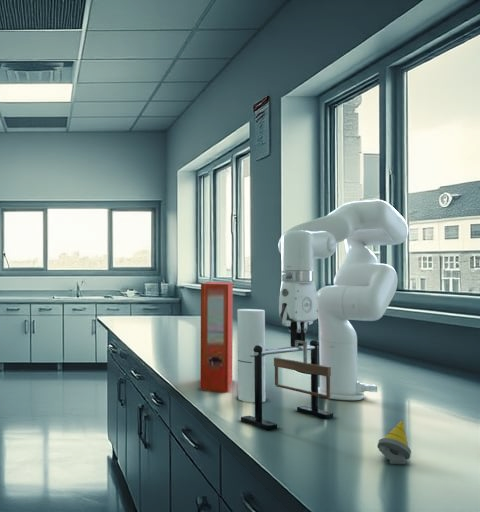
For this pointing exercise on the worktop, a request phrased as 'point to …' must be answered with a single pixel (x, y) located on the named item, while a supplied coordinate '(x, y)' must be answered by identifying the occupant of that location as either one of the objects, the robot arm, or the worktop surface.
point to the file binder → (216, 336)
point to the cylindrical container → (249, 351)
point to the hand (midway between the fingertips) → (297, 347)
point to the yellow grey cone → (395, 445)
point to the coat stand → (258, 420)
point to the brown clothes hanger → (303, 370)
